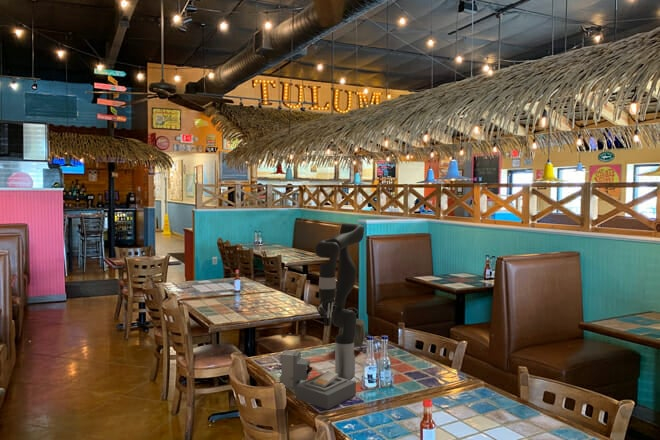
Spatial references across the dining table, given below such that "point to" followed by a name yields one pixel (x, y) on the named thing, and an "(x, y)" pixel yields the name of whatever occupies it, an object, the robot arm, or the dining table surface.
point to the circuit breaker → (293, 368)
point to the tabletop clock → (357, 331)
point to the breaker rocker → (325, 379)
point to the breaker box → (326, 392)
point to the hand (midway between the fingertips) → (327, 325)
